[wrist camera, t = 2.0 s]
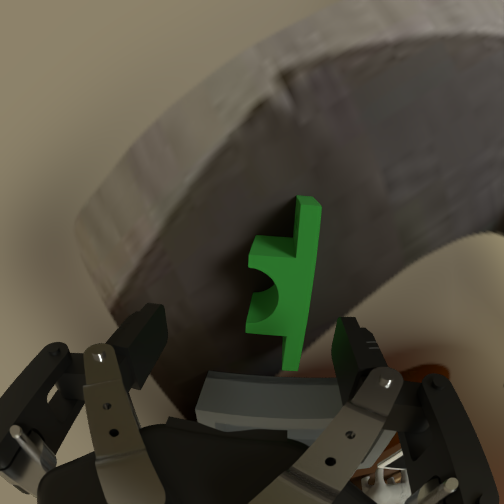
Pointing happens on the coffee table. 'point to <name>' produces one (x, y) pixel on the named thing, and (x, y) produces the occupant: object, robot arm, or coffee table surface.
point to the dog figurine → (387, 488)
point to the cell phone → (393, 461)
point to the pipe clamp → (286, 281)
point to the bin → (276, 407)
